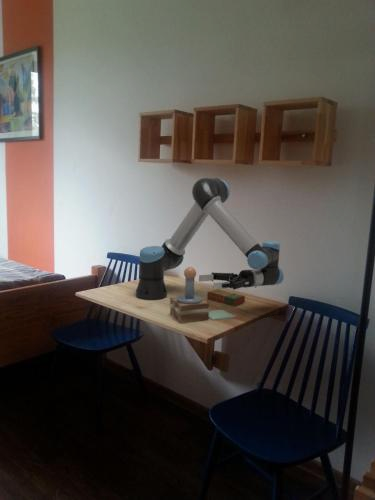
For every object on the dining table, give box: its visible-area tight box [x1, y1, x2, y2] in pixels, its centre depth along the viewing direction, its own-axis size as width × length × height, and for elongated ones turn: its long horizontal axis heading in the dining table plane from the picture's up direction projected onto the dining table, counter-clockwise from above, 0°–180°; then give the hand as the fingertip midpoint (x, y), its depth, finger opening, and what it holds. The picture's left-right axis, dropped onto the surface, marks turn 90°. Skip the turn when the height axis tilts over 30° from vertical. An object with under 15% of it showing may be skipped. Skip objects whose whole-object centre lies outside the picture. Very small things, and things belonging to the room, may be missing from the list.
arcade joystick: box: [177, 266, 203, 304], centre depth 171 cm, size 10×10×14 cm
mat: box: [208, 309, 235, 321], centre depth 177 cm, size 10×10×1 cm
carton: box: [206, 289, 246, 308], centre depth 197 cm, size 8×16×4 cm, turn 47°
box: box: [169, 296, 210, 324], centre depth 173 cm, size 12×12×7 cm
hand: (206, 281), depth 174 cm, fingers open, 13 cm apart
